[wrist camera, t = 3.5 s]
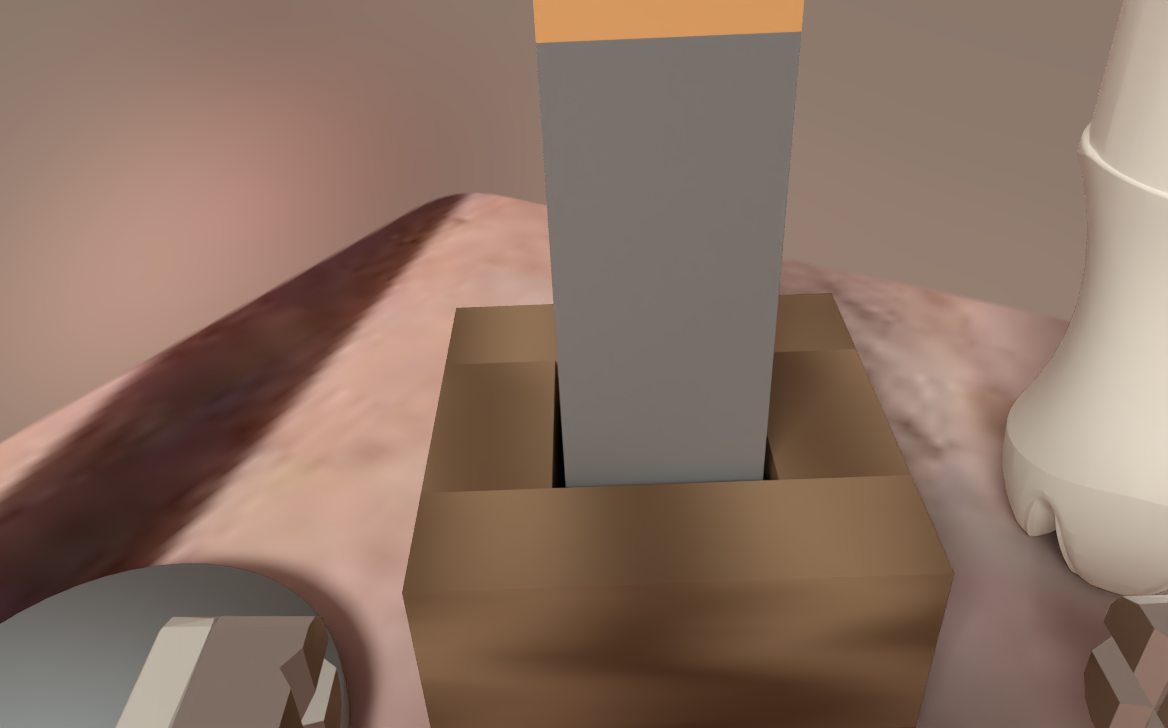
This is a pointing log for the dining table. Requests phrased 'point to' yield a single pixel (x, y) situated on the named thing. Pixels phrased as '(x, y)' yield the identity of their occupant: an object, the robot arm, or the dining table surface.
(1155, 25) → the water bottle
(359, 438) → the dining table surface
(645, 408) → the plug peg
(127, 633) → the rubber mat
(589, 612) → the block
